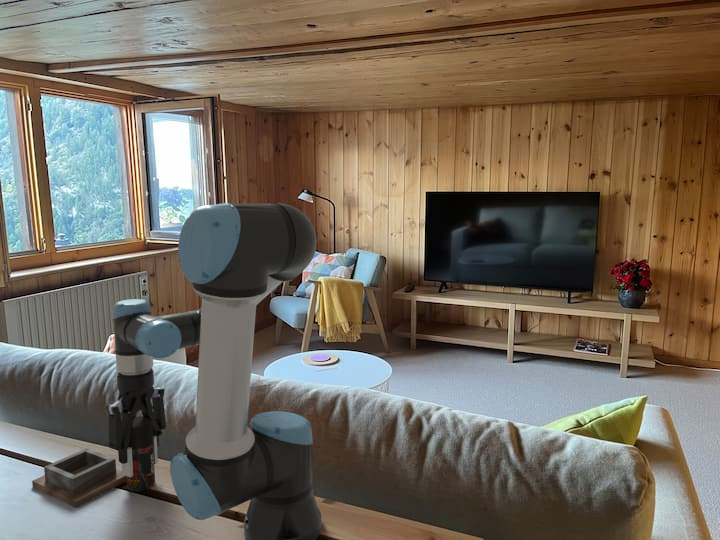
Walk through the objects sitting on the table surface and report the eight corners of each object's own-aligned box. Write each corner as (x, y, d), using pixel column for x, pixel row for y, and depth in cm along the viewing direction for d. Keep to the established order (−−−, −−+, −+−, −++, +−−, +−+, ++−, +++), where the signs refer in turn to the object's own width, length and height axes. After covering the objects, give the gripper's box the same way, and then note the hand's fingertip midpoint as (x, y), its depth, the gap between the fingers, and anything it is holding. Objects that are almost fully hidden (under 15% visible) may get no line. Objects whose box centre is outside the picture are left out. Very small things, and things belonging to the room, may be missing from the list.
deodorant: (128, 479, 126) (124, 418, 124) (155, 476, 128) (152, 415, 126) (125, 493, 120) (121, 428, 118) (154, 489, 122) (151, 425, 120)
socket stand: (129, 479, 126) (128, 459, 125) (76, 507, 115) (74, 485, 114) (86, 462, 134) (85, 443, 133) (32, 487, 123) (30, 466, 122)
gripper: (158, 356, 130) (162, 447, 133) (84, 379, 114) (91, 483, 117) (180, 361, 127) (184, 455, 130) (107, 385, 110) (114, 492, 114)
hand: (140, 468), depth 123 cm, fingers closed on deodorant, 6 cm apart
